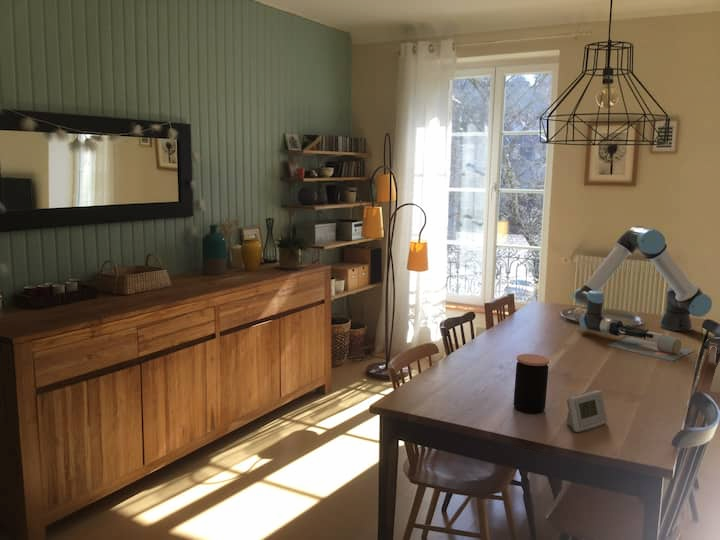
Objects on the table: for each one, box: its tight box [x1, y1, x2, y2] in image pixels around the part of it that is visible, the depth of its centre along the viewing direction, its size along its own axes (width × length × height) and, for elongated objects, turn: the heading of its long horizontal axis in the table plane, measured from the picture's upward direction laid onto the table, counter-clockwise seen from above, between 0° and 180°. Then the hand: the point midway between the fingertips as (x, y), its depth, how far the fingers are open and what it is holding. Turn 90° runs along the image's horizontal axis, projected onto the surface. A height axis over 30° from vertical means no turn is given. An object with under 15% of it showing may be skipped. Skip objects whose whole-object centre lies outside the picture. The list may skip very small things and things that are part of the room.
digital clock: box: [566, 389, 608, 433], centre depth 213 cm, size 16×9×11 cm, turn 112°
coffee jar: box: [512, 353, 550, 415], centre depth 225 cm, size 11×11×18 cm
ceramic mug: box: [656, 333, 682, 354], centre depth 299 cm, size 11×8×8 cm
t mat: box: [606, 336, 694, 362], centre depth 305 cm, size 24×30×1 cm
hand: (661, 337), depth 302 cm, fingers closed
